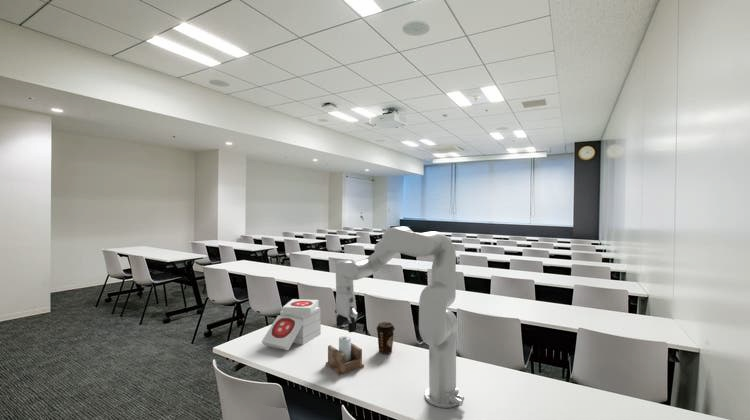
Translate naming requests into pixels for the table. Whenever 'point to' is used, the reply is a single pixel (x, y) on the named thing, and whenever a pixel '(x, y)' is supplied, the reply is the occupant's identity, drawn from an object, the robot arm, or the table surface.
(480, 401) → the table surface
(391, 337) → the coffee cup
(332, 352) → the holder
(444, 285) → the robot arm
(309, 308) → the pizza box stack
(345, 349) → the roll
